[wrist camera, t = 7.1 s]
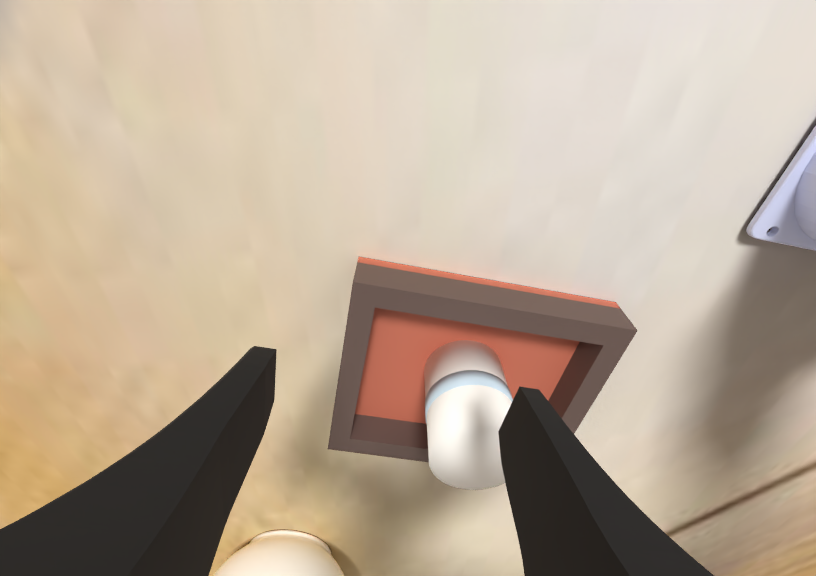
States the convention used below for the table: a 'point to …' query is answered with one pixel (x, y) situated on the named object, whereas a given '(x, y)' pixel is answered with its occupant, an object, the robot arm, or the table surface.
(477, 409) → the blue-banded white capsule
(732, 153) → the table surface
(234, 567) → the lidded bowl
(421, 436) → the lacquer tray
